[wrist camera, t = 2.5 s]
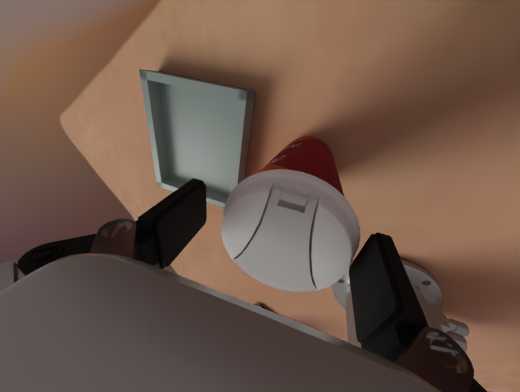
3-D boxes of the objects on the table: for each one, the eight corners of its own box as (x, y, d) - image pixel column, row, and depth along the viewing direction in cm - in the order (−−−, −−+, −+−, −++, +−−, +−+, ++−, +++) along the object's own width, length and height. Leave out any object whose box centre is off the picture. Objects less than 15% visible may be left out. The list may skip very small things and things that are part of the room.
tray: (255, 91, 19) (247, 91, 17) (241, 202, 27) (234, 211, 25) (157, 71, 22) (139, 69, 19) (169, 179, 29) (157, 186, 27)
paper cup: (279, 119, 20) (212, 161, 8) (355, 134, 19) (400, 210, 7) (268, 184, 24) (212, 272, 12) (329, 200, 23) (330, 317, 11)
